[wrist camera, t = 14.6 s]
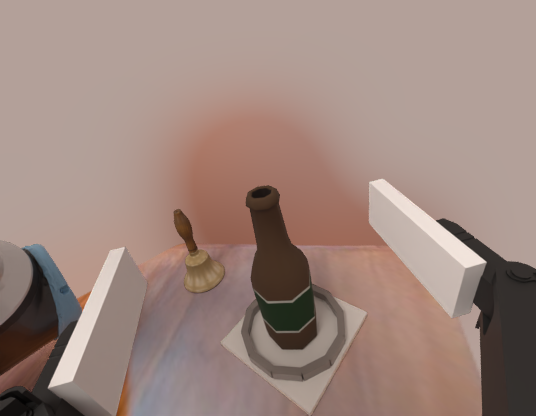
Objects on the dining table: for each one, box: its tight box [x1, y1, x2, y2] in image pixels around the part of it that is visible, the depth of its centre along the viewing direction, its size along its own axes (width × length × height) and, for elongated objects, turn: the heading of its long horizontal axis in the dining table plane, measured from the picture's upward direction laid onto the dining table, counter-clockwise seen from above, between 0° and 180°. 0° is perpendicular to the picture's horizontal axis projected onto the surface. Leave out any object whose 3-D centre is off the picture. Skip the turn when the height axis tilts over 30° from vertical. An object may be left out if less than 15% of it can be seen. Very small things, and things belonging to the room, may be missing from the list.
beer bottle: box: [246, 186, 317, 350], centre depth 36 cm, size 8×8×24 cm
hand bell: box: [174, 209, 225, 293], centre depth 52 cm, size 8×8×16 cm
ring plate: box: [220, 284, 367, 416], centre depth 42 cm, size 16×16×2 cm
